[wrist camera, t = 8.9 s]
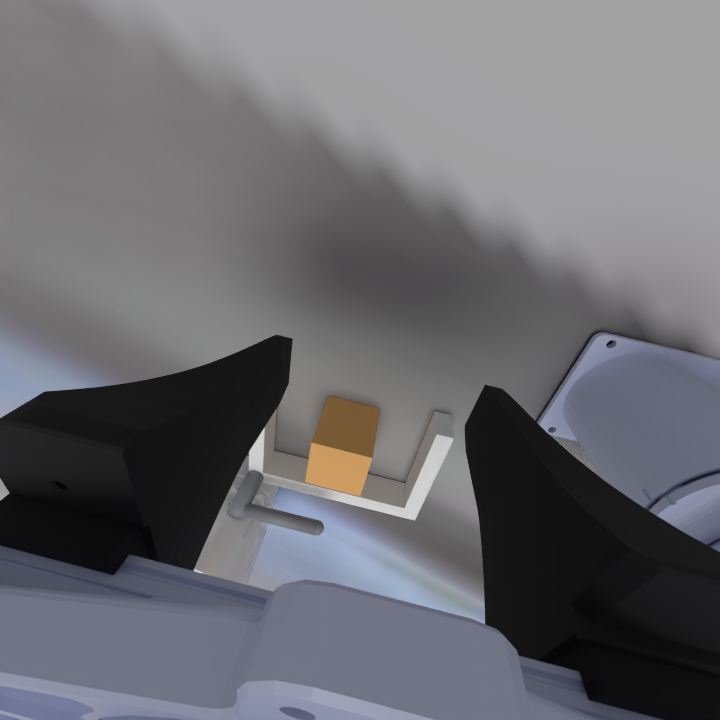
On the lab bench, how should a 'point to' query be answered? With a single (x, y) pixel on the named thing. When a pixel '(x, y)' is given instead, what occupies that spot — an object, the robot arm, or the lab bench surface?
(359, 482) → the tan wooden cube
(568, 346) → the lab bench surface
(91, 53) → the lab bench surface
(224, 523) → the white cup
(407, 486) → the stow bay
